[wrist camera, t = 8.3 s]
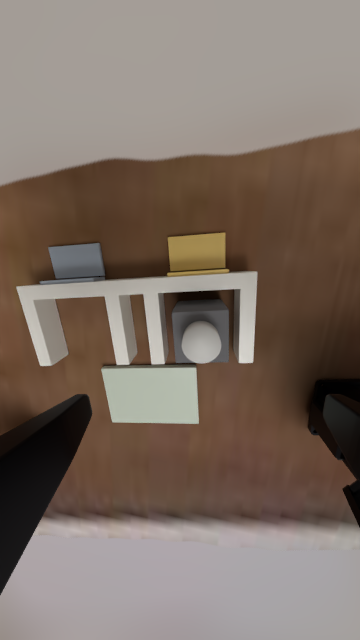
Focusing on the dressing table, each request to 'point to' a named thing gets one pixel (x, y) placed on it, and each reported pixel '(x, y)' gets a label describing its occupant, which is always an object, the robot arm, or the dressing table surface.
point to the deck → (152, 393)
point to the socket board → (89, 262)
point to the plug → (201, 331)
